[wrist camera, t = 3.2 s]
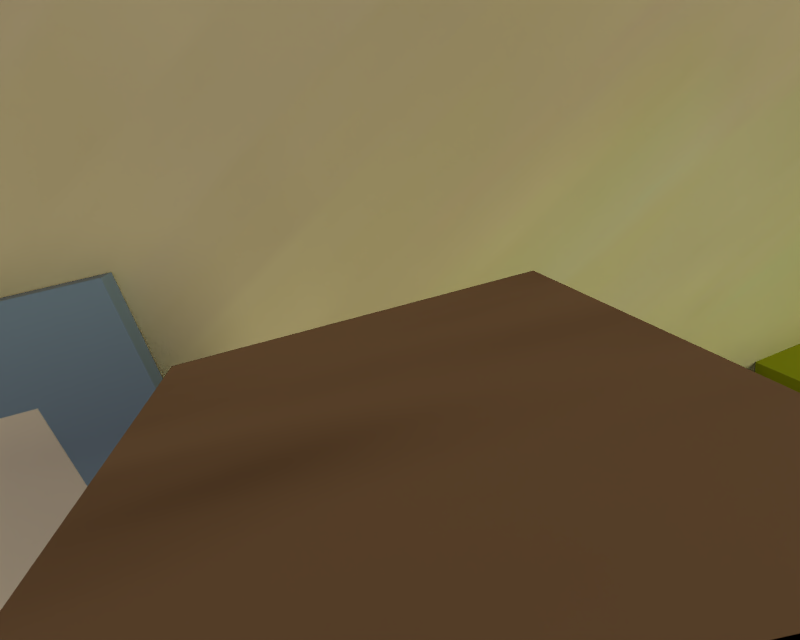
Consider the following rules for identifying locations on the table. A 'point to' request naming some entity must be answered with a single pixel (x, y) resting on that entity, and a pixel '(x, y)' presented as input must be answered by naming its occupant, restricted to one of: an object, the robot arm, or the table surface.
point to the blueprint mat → (61, 406)
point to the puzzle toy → (782, 367)
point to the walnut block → (440, 488)
